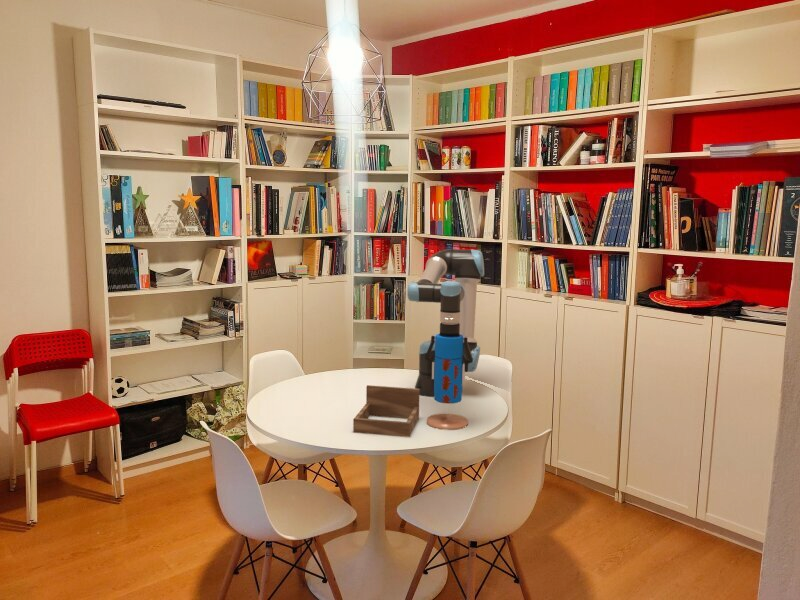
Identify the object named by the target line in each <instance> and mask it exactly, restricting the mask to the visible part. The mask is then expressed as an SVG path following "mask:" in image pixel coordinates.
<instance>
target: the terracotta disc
mask: <svg viewBox="0 0 800 600" xmlns="http://www.w3.org/2000/svg"><path fill="white" fill-rule="evenodd" d="M467 424H469V419H467V418H466V417H464V416H462V415H460V414H454V413H436V414H432V415H430V416H427V418H426V425H428V426H429V427H431V428H433V429H436V428H438V430H442V429H457V430H460V429H459V428H462V429H464V428H466V427H467V426H468V425H467ZM466 425H467V426H466ZM465 426H466V427H465ZM463 427H464V428H463Z"/></svg>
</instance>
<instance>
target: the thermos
mask: <svg viewBox="0 0 800 600" xmlns="http://www.w3.org/2000/svg"><path fill="white" fill-rule="evenodd" d="M439 334H440V333H437V334H435V336H436V338H435V370H434V396H433V397H434V401H435V402H436V403H437V402H438V403H441V404H447V405H448V404H450V405H451V404H457V403H461V402H462V398H463V397H462V396H463V381H462V370H463V360H462V355H463V348H464V343H463V335H461V334H460V337H454V336H439Z"/></svg>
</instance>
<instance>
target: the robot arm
mask: <svg viewBox="0 0 800 600" xmlns="http://www.w3.org/2000/svg"><path fill="white" fill-rule="evenodd" d="M484 262H485V261H484V256H483V252H482V251H481V250H478V249H456V248H455V249H451V248H448V249H446V248H445V249H442V250H440V251H437V252H436V253H434V254H433V255H431V256H430V257H429V258H428V259H427V261H426V263H425V269H424V271H423V273H422V274H421V276H420V278H419V279H418V281H417V282H416V281H414V282H410V283H409V284H408V286H407V299H408V301H410V302H416V303H419V302H420V303H438V304H439V303H440V312H439V313H440V314H439V317H440V318H439V322H440V323H439V333H438V334H439V336H454V337H460V334H461V335H463V343H464V348H463V355H462V360H463V370H462V382H465V381H466V380H465V379H466V373H473V372H475V371H476V369H478V364H479V360H480V354H481V346H479V345H478V341H477V340H476V339H475V325H476V323H475V321H476V308H477V307H476V305H477V285H478V283H480V282H481V278H483V277H484V276H485V263H484ZM443 276H454V281H453V280H451V281H450V280H449V281H443V282H441V283H439V282H440V280H441V278H442V277H443ZM435 338H436V334H432V335H431V338H430V340H426V341H424V342H421V344H420V345H419V352H418V357H419V358H418V359H419V361H418V362H419V363H418V376H417V378H416V379H417V380H416V382H415V385H414V389H420V390H419V396H424V395H426V397H434V370H435Z"/></svg>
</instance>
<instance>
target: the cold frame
mask: <svg viewBox="0 0 800 600" xmlns="http://www.w3.org/2000/svg"><path fill="white" fill-rule="evenodd" d="M365 388H366V391H365V392H366V393H365V394H366V395H365V396H366V397H365V398H366V401H365V404H364V406H363V407H362V408H361V409H360V410H359V411H358V413H357V414H356V416H355V417H354V418H353V419H352V420H353V422H352V423H353V426H352V432H353V433H359V434H369V435H370V434H372V435H383V436H395V437H405V438H410V437H411V435H412V433H413V432H414V431H413V430H414V429H415V426H416V425H417V423H418V421H419V419H420V394H419V390H420V389H415V387H414V388H413V387H412V388H411V387H397V386H396V387H395V386H382V385H371V384H370V385H368V384H367V385H366V387H365ZM370 417H382V418H393V419H404V420H405V419H407V420H406V421H397V420H389V419H388V420H384V419H373V418H370Z"/></svg>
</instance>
